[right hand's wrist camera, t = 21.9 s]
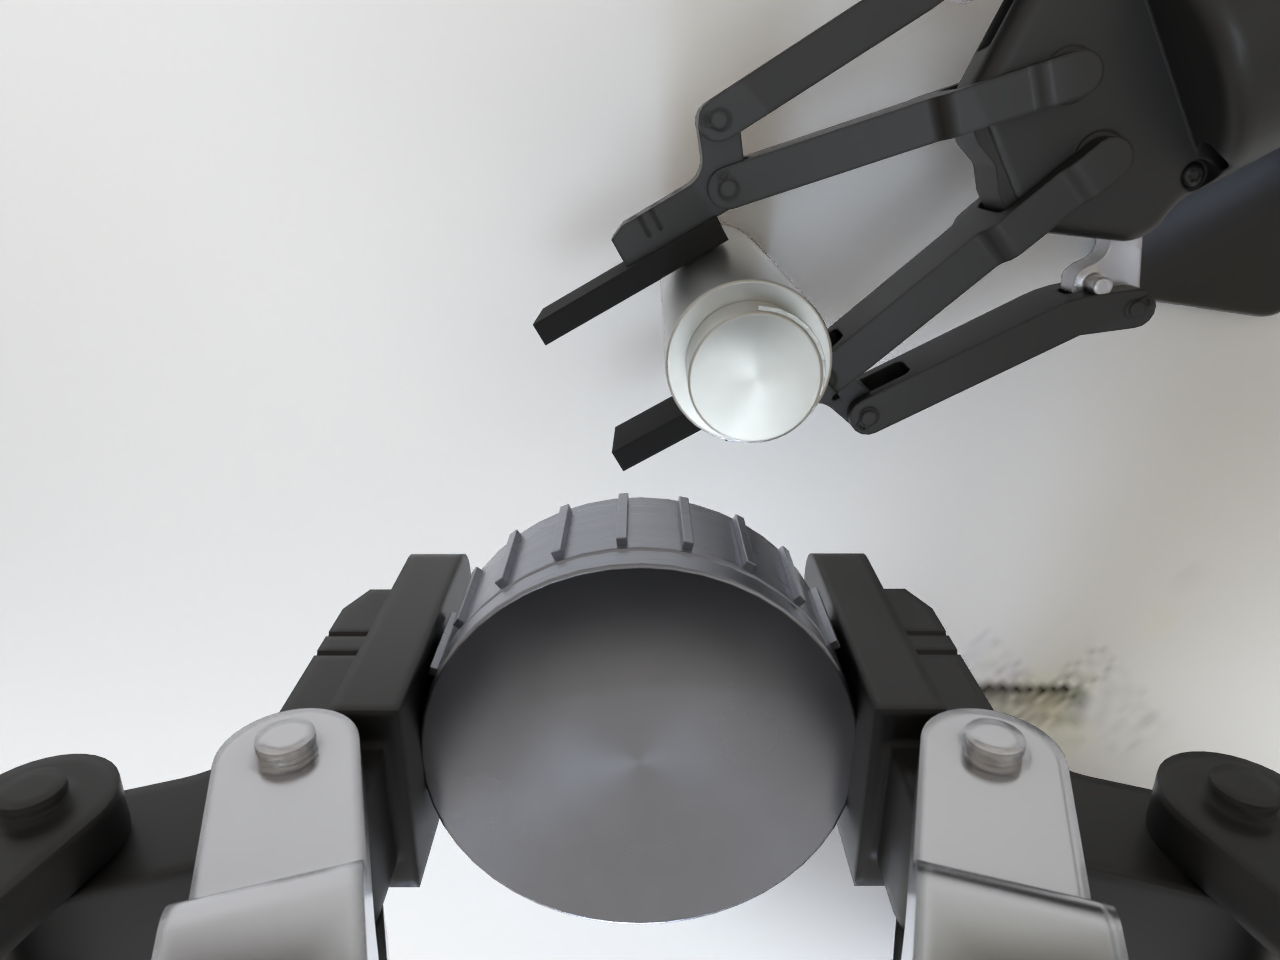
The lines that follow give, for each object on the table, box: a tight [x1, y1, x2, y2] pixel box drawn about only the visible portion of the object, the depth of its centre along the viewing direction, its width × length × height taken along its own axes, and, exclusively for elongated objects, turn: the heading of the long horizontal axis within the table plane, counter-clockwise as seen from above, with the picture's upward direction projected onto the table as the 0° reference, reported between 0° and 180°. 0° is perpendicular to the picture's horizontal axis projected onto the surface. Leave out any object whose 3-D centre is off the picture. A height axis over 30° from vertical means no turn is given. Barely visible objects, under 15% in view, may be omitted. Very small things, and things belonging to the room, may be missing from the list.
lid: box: [420, 493, 856, 924], centre depth 10 cm, size 5×5×2 cm
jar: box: [661, 224, 832, 443], centre depth 28 cm, size 4×4×16 cm
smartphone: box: [1140, 148, 1280, 316], centre depth 32 cm, size 8×1×16 cm
